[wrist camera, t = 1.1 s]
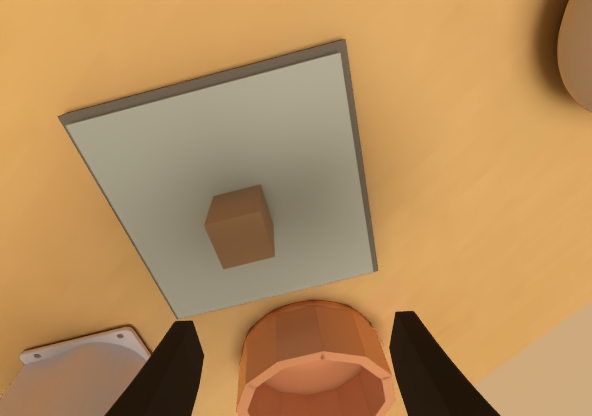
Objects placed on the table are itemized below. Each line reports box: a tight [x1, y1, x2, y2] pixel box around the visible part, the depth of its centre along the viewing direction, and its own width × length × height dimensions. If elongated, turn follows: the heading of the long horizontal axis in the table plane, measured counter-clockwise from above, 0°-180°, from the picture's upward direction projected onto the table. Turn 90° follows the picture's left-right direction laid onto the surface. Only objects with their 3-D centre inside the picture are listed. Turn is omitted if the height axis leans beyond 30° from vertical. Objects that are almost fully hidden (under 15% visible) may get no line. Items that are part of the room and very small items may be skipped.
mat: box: [58, 40, 378, 319], centre depth 21 cm, size 16×16×1 cm
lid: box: [66, 52, 373, 319], centre depth 19 cm, size 15×15×4 cm
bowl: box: [236, 301, 396, 416], centre depth 27 cm, size 12×12×5 cm
